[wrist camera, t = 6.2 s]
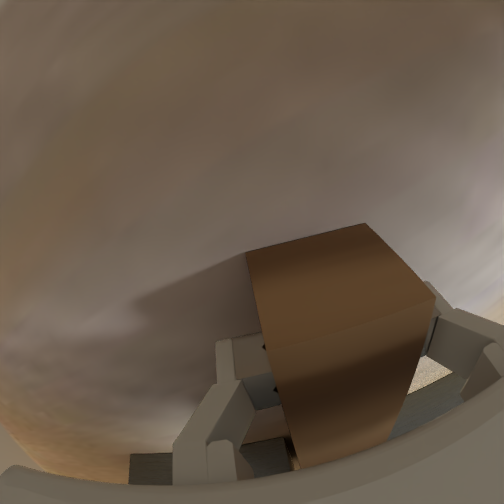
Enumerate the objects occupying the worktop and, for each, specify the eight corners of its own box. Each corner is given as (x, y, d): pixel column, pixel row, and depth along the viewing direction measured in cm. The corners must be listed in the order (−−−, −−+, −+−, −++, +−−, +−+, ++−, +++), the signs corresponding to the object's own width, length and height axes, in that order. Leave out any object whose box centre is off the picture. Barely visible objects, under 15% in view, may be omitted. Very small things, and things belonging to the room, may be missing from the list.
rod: (245, 252, 9) (266, 351, 6) (365, 223, 9) (436, 296, 6) (300, 460, 19) (311, 501, 16) (348, 447, 19) (361, 486, 16)
